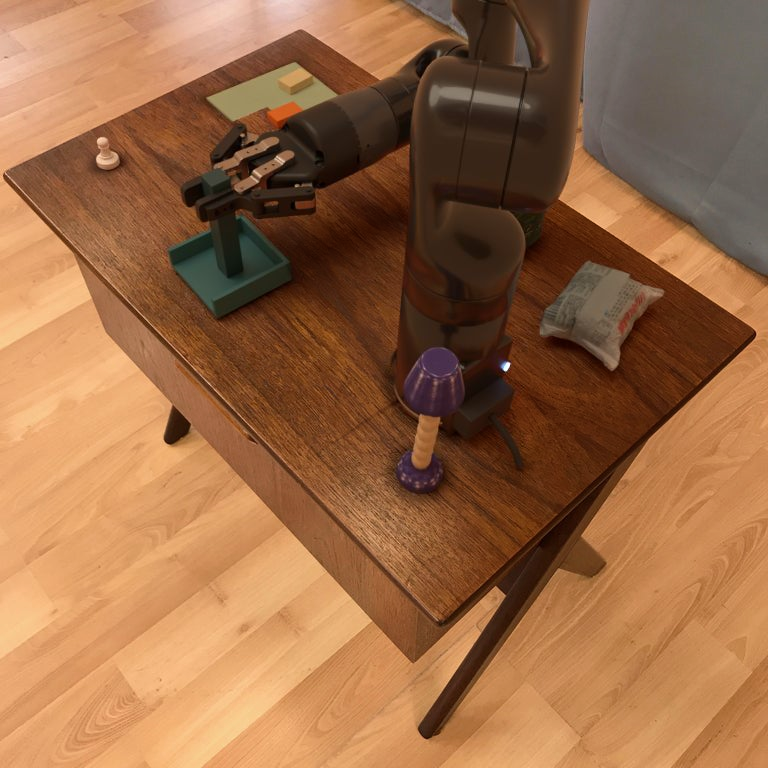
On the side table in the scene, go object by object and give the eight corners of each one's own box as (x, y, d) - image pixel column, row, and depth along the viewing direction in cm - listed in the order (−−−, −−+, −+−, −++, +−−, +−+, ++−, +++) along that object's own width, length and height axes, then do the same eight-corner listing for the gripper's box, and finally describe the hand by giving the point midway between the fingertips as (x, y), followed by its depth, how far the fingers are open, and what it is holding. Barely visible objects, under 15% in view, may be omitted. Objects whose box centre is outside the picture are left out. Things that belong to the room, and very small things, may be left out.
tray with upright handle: (291, 279, 83) (283, 183, 73) (217, 319, 79) (197, 223, 69) (244, 231, 87) (230, 133, 77) (171, 266, 83) (146, 169, 73)
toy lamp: (457, 477, 71) (484, 360, 57) (422, 509, 69) (440, 397, 55) (418, 443, 73) (435, 324, 59) (382, 474, 70) (391, 357, 57)
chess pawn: (92, 165, 94) (85, 140, 91) (107, 153, 95) (100, 129, 93) (109, 173, 93) (102, 148, 90) (124, 161, 95) (117, 136, 92)
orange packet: (277, 121, 98) (277, 129, 99) (304, 110, 99) (304, 118, 100) (266, 111, 99) (267, 120, 100) (293, 100, 101) (293, 109, 102)
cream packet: (313, 83, 105) (312, 75, 104) (290, 95, 103) (290, 87, 102) (300, 75, 106) (300, 67, 105) (278, 87, 104) (277, 79, 103)
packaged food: (656, 309, 84) (671, 276, 80) (608, 382, 78) (621, 350, 74) (581, 274, 86) (592, 241, 83) (529, 342, 80) (538, 309, 76)
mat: (359, 114, 102) (359, 111, 102) (269, 155, 96) (268, 152, 96) (295, 64, 108) (295, 61, 108) (206, 100, 103) (206, 97, 102)
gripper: (300, 71, 80) (145, 133, 73) (385, 140, 74) (225, 215, 67) (303, 134, 86) (160, 197, 79) (383, 203, 80) (235, 277, 73)
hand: (191, 205), depth 73 cm, fingers closed on tray with upright handle
